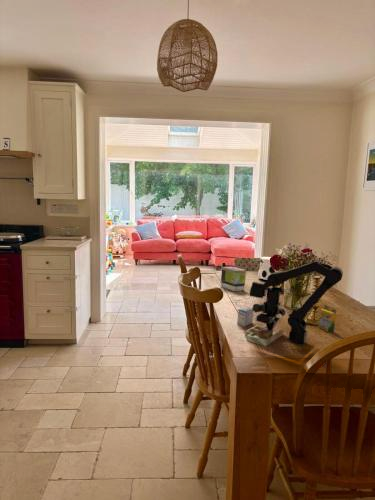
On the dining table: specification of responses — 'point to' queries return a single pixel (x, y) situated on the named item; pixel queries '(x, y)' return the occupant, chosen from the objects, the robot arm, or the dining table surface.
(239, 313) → the medicine box
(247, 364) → the dining table surface
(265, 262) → the milk container
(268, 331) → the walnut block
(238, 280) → the tea box
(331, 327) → the crayon box
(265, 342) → the trap tray
